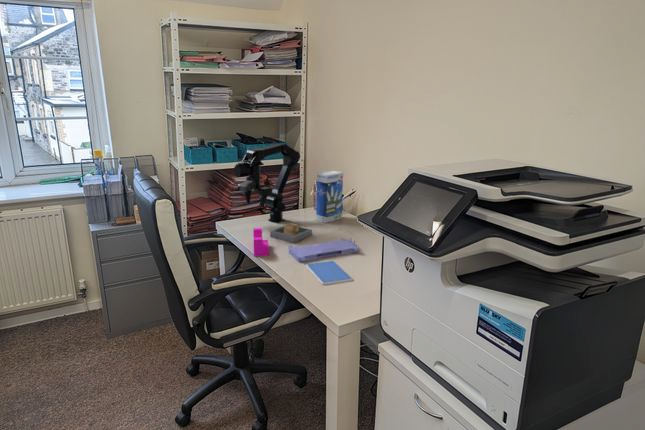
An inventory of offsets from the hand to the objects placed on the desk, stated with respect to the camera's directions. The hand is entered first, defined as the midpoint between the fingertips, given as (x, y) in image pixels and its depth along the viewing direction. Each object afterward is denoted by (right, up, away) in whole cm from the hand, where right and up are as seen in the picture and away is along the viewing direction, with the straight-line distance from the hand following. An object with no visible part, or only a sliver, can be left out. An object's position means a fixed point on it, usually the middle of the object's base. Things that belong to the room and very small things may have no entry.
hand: (254, 205), depth 217 cm
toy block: (+7, -20, -27) cm, 35 cm away
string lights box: (+37, -7, +18) cm, 42 cm away
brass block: (+19, -15, -10) cm, 26 cm away
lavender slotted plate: (+35, -22, -29) cm, 51 cm away
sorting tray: (+19, -15, -10) cm, 26 cm away
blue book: (+36, -28, -49) cm, 67 cm away
